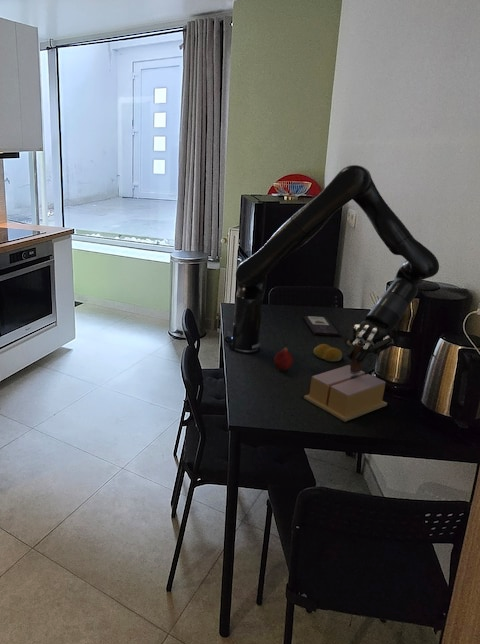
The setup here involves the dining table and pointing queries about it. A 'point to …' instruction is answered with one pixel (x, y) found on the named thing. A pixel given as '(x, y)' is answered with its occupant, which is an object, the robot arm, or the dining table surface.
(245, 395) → the dining table surface
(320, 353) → the bread roll
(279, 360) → the onion
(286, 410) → the dining table surface
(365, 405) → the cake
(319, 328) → the chocolate bar
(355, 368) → the cake knife
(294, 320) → the dining table surface
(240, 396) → the dining table surface
